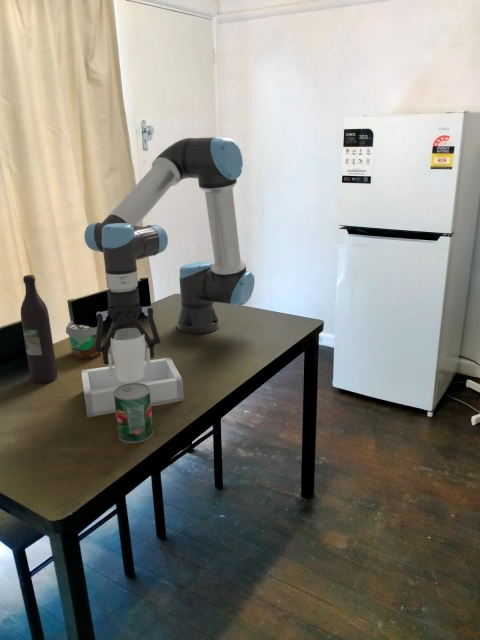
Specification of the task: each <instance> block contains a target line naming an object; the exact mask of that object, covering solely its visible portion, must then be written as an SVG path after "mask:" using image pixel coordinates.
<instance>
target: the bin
mask: <svg viewBox="0 0 480 640" xmlns="http://www.w3.org/2000/svg"><path fill="white" fill-rule="evenodd" d="M150 362H151V371H149V372H148V370H147V367H146V360H145V363H144V376H143V378H142V379H140V380H138V381H135V382H122V381H120V380H118V378H117V374H116V370H115V366H114V365H112V369H113V377H110V374H109V366H104V367H96V368H88V369H81V370H80V372H81V380H82V388H83V395H84V404H85V410H86V418H91V417H92V418H94V417H97V416H98V417H99V416H103V415H104V416H105V415H110V414H114V413H115V414H116V408H115V399H114V391H115V389H116V388H118V387H119V386H121V385H124V384H128V383H142V384H145V385H147V386H148V387H149V388H150V400H151V407H154V406H155V407H156V406H162V405H166V404H171V403H177V402H178V403H179V402H183V401H184V400H185V399H184V397H185V395H184V380H183V377H182V375H181V374H180V373H179V372H180V371H178V369H177V367H176V365H175V363H174V362H173V360H172V358H171V357H163V358H155V359H150Z"/></svg>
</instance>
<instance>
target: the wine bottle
mask: <svg viewBox="0 0 480 640" xmlns="http://www.w3.org/2000/svg"><path fill="white" fill-rule="evenodd" d="M22 279H23V283H24V287H25V295H24V299H23V301H22V304H21V306H20V321H21V326H22V332H23V339H24V345H25V351H26V357H27V363H28V370H29V377H30V380H31V382H32V383H33V384H39V385H43V384H49V383H52V382H53V381H55V380H57V378H58V371H57V370H58V369H57V364H56V363H57V362H56V355H55V349H54V343H53V335H52V334H53V333H52V329H51V321H50V314H49V311H48V307H47V305H46V303H45V302H44V300H43V298H42V297H41V296H40V295H39V293H38V291H37V287H36V277H35V275H34V274H27V275H23V278H22Z"/></svg>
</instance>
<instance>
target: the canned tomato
mask: <svg viewBox="0 0 480 640" xmlns="http://www.w3.org/2000/svg"><path fill="white" fill-rule="evenodd" d="M114 399H115V408H116V412H115V415H116V416H115V417H116V425H117V426H116V427H117V434H118V435H117V436H118V439H119V440H120V441H121V442H124V443H125V444H138V443H142V442H145V441H148V440H149V439H150V438H151V437H152V436H153V434H154V427H153V415H152V406H151V400H150V388H149V387H148V386H147V385H145V384H142V383H128V384H124V385H121V386H119V387H118V388H116V389H115V391H114Z"/></svg>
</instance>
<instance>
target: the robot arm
mask: <svg viewBox="0 0 480 640" xmlns="http://www.w3.org/2000/svg"><path fill="white" fill-rule="evenodd" d="M243 161H244V160H243V156H242V152H241V149H240V148H239V145H238V144H237V143H236V141H234V139H231V138H229V137H220V136H213V137H212V136H210V137H188V138H187V137H186V138H182V139H180V140H178V141H176V142H174V143H172V144H170V146H168V147H167V148H165V149H164V150H163V151H162V152H160V154H159V155H158V156H156V157H155V158H154V160H153V161H152V163H151V168H150V169H149V171H148V172H147V173H146V174H145V175H144V176H143V177H142V178H141V179H140V180H139V181H138V183H136V184H135V185H134V187H133V188H132V189H131V190H130V191H129V193H128V194H127V195H126V196H125V197H124V198H123V199H122V200H121V201H120V203H119V204H117V205H116V206H115V207H114V209H113V210H112V211H111V212H110V213H109V214H108V215H107V217H106V218H105V219H104V220H103V221H102V222H92V223H89V224H88V226H86V229H85V231H84V234H83V235H84V241H85V245H86V246H87V247H88V248H89V249H90V250H92V251H95V252H100V253H103V254H102V255H103V262H104V263H103V264H104V271H105V283H106V289H107V291H106V292H107V293H106V294H107V304H108V307H107V310H105V311H99V310H98V311H97V312H96V313H95V314H96V319H97V323H96V324H97V325H96V327H97V330H96V338H95V345H94V348H95V351H96V352H101V354H102V361H103V364H104V365H108V366H109V374H110V377H113V369H112V366H113V359H112V355H111V351H110V345H111V338H112V339H113V338H114V335H115V333H116V331H117V330H119V326H120V327H122V326H126V325H128V326H130V325H133V324H134V327H135V328H137V329H138V330H139V332H140V333H141V335H144V336H145V341H146V349H145V361H146V367H147V370H148V372H149V371H151V362H150V360H151V359H152V358H155V349H154V347H155V346H156V345H159V344H160V343H161V339H160V336H159V333H158V329H157V327H156V323H155V320H154V309H153V308H152V306H151V305H147V306H141V304H140V303H141V302H140V293H139V292H140V291H139V290H140V289H139V288H138V286H139V280H138V271H137V270H138V267H137V261H138V260H141V259H145V258H148V257H152V256H157V255H159V254H161V253H163V252H165V250H166V248H167V247H168V244H169V241H168V240H169V239H168V234H167V232H166V230H165V229H164V228H163V227H162V226H160V225H157V224H151V225H150V224H148V225H146V226H145V225H144V226H139V224H140V223H142V221H143V220H144V218H146V217H147V215H148V214H149V212H151V210H153V208H154V207H155V206H156V204H157V203H158V202H160V200H161V199H162V197H163V196H164V195H165V194H166V193H167V192H168V190H170V188H171V187H175V186H177V185H178V184H179V183H180V182H181V181H182V180H185V179H190V178H191V179H197V182H198V186H199V189H201V190H202V191H203V192H204V195H205V201H206V203H205V204H206V209H207V210H206V211H207V216H208V223H209V232H210V238H211V245H212V251H213V252H212V253H213V261H214V263H213V261H212V262H211V261H207V260H206V261H196V262H190V263H186V264H184V265H182V266H181V267H180V268H179V277H178V280H179V288H180V289H179V292H180V310H179V313H178V317H177V319H176V320H177V321H176V324H177V326H176V327H177V329H178V330H179V331H180V332H183V333H186V334H206V333H210V332H211V333H212V332H214V331H215V330H218V329H219V328H220V318H219V315H218V312H217V309H216V307H215V303H220V304H225V305H230V306H244V305H246V304H247V303H248V302H249V300H250V299H251V297H252V294H253V292H254V288H255V275H254V274H253V273H252V272H251V271H249V270H248V271H247V264H246V263H245V262H244V260H243V259H241V251H240V244H239V243H240V242H239V235H238V224H237V217H236V208H235V207H236V206H235V199H234V189H233V188H234V187H235V185H237V183H238V180H237V179H238V178H239V177H240V176H241V175H242V172H243V169H242V168H243V166H244V164H243V163H244V162H243ZM142 313H143V315H144V316H145V317H146V319H147V322H148V324H149V327H150V330H151V331H150V332H151V334H152V338H150V336H149V334H148V333H147V332H146V330H145V328H144V326H143V325H142V324H141V322H140V320H139V319H138V318H140V315H141V314H142ZM107 317H109V318H110V319H111V320H112V321H111V325H110V327H109V329H108V332H107V334H106V337H105V339H104V341H103V344H102V339H103V338H102V337H103V332H104V326H105V325H104V321H106V320H107ZM101 344H102V345H101ZM108 366H107V367H108Z"/></svg>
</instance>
